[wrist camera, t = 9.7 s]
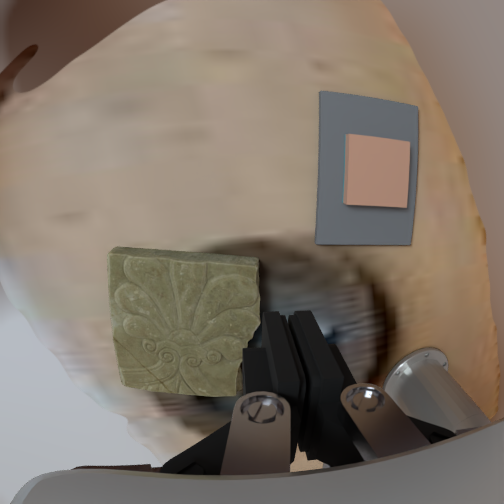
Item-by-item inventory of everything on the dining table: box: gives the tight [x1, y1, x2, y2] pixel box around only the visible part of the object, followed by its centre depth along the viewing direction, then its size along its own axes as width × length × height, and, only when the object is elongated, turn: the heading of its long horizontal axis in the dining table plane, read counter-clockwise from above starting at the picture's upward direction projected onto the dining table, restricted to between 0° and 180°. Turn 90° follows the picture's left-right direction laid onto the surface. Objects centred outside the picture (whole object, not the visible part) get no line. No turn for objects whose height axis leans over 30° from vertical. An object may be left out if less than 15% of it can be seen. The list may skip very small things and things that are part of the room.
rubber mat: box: [315, 91, 418, 245], centre depth 36 cm, size 18×13×1 cm
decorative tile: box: [107, 247, 261, 397], centre depth 39 cm, size 19×20×4 cm
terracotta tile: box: [342, 134, 410, 208], centre depth 35 cm, size 8×2×8 cm
